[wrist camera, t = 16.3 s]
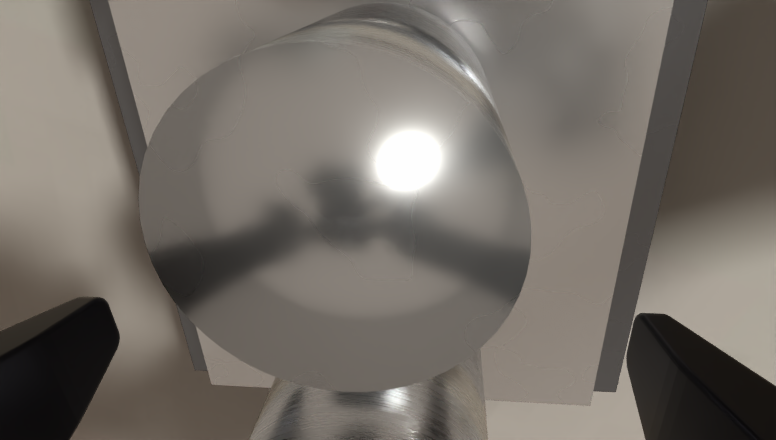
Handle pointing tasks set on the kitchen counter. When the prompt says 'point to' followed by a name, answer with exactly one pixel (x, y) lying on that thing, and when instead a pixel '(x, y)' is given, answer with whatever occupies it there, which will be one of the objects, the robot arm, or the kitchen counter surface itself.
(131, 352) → the kitchen counter surface
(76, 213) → the kitchen counter surface
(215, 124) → the cylinder
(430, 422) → the cylinder
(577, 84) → the dial scale
